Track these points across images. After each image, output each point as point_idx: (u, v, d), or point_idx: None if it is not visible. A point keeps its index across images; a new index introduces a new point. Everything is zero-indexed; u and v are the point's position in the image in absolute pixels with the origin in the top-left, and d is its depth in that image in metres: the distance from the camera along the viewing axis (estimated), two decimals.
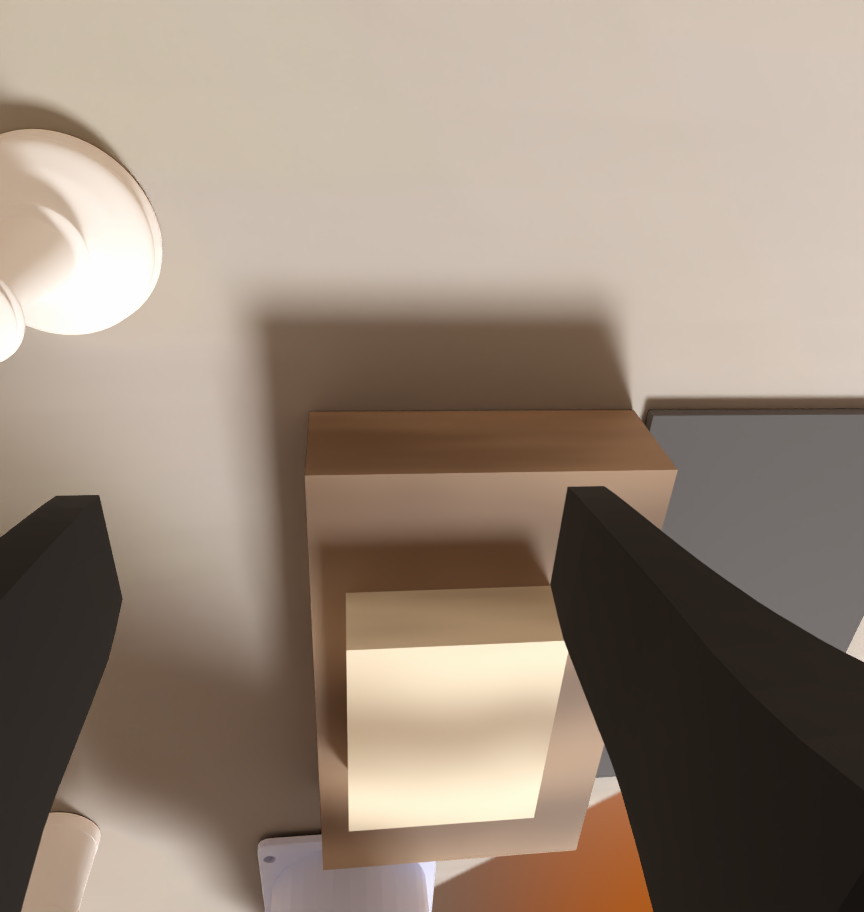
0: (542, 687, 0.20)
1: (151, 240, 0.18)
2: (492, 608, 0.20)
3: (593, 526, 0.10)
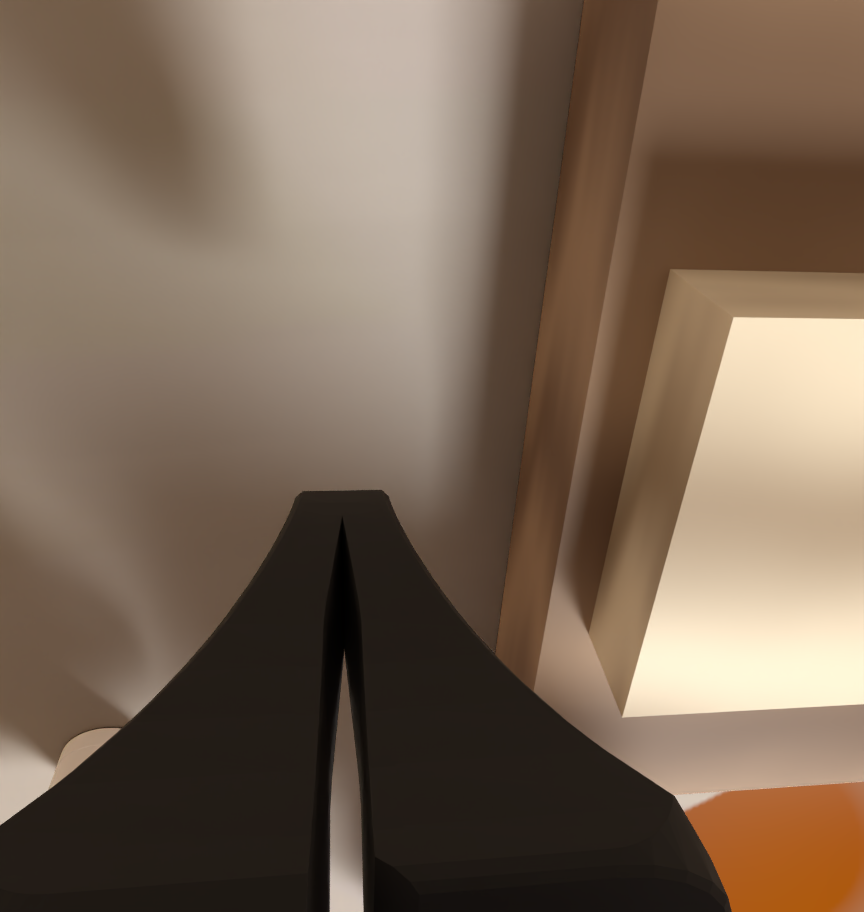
0: None
1: None
2: None
3: (344, 532, 0.10)
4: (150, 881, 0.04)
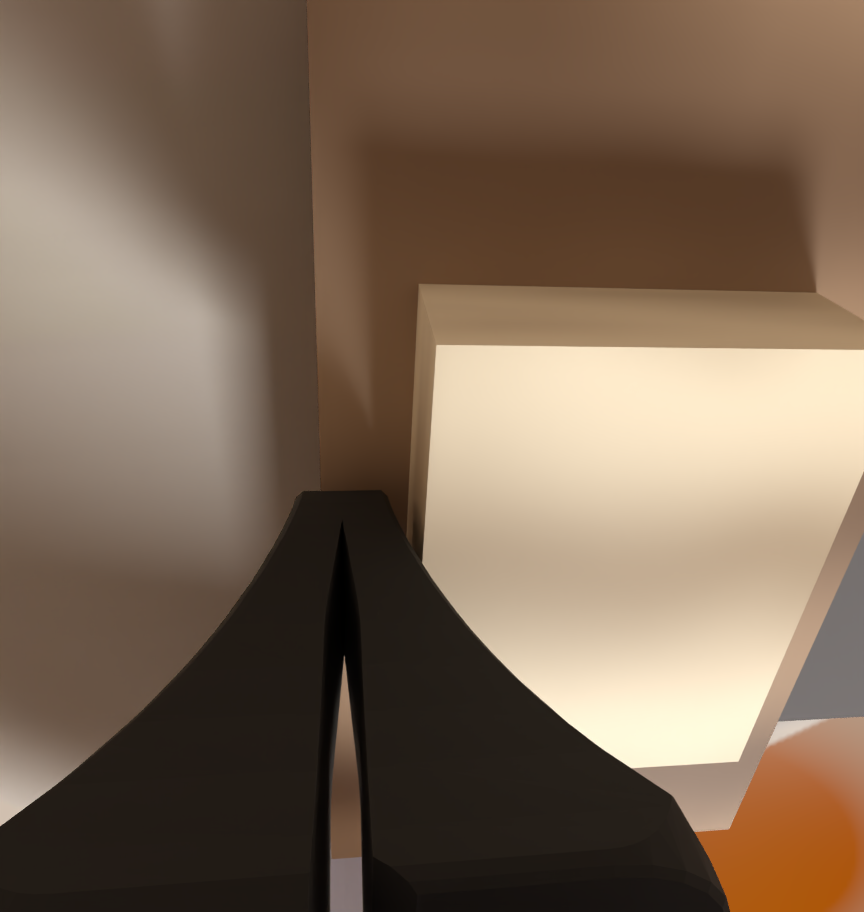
0: (826, 472, 0.10)
1: None
2: (723, 310, 0.10)
3: (343, 532, 0.10)
4: (152, 880, 0.04)
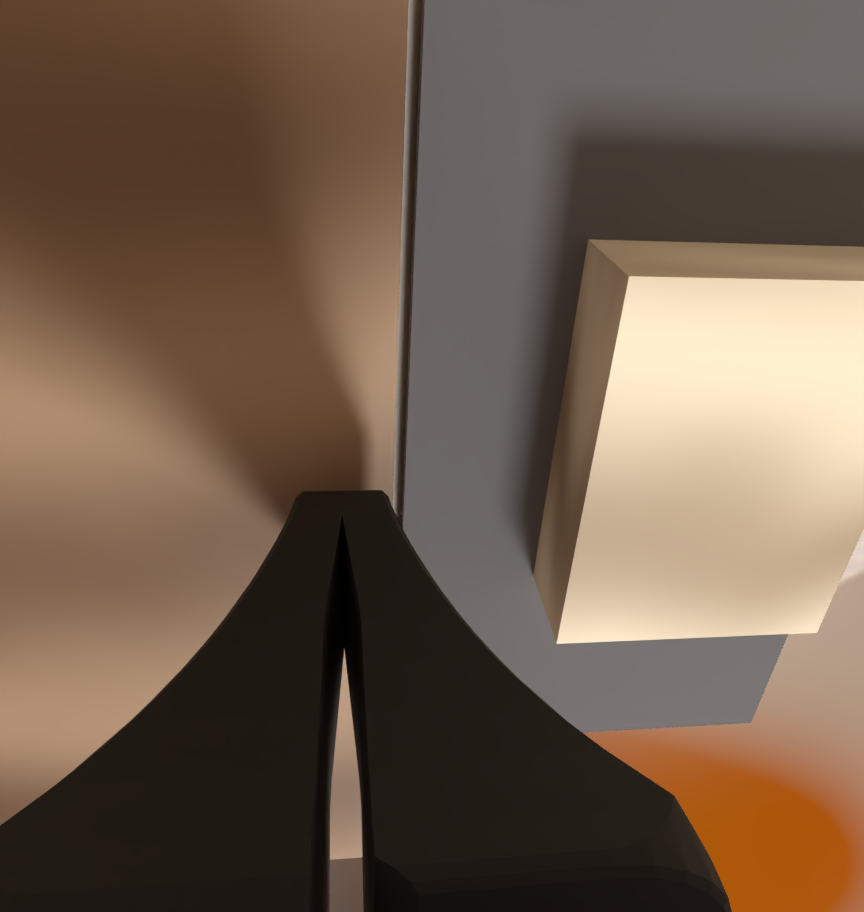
0: None
1: None
2: (718, 263, 0.12)
3: (344, 532, 0.10)
4: (150, 880, 0.04)
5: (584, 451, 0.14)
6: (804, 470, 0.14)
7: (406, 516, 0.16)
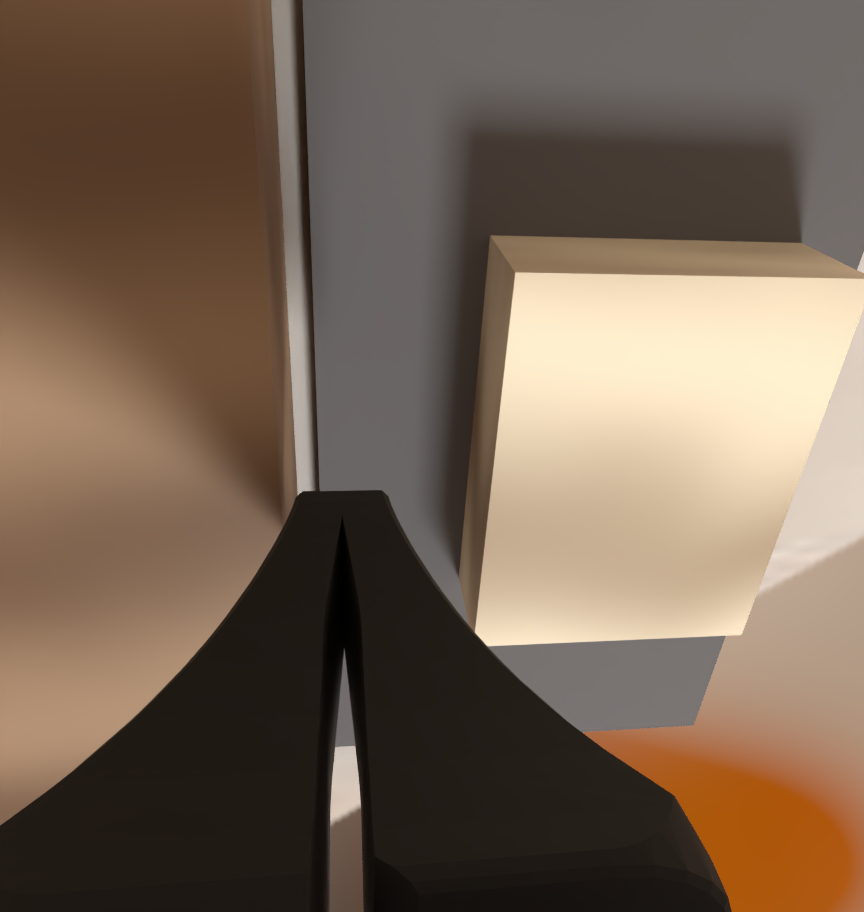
0: None
1: None
2: (616, 259, 0.12)
3: (344, 532, 0.10)
4: (150, 880, 0.04)
5: (489, 451, 0.13)
6: (714, 469, 0.13)
7: None
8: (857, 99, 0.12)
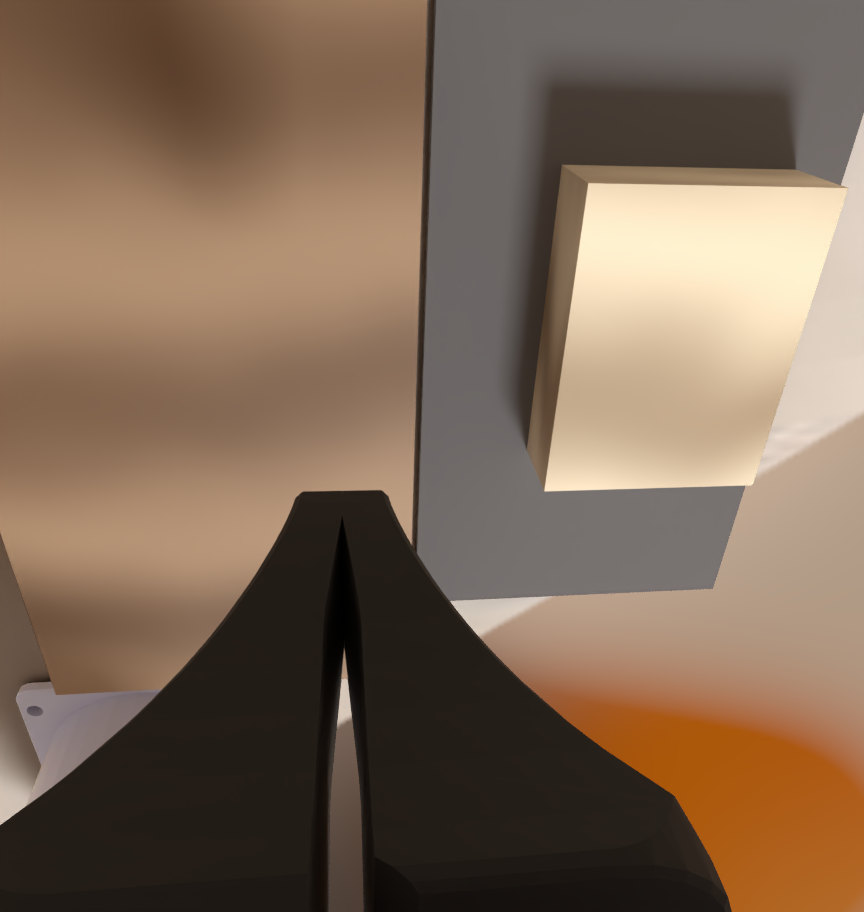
0: None
1: None
2: (658, 177, 0.16)
3: (344, 532, 0.10)
4: (149, 881, 0.04)
5: (561, 328, 0.18)
6: (731, 341, 0.18)
7: (424, 396, 0.20)
8: (835, 57, 0.17)
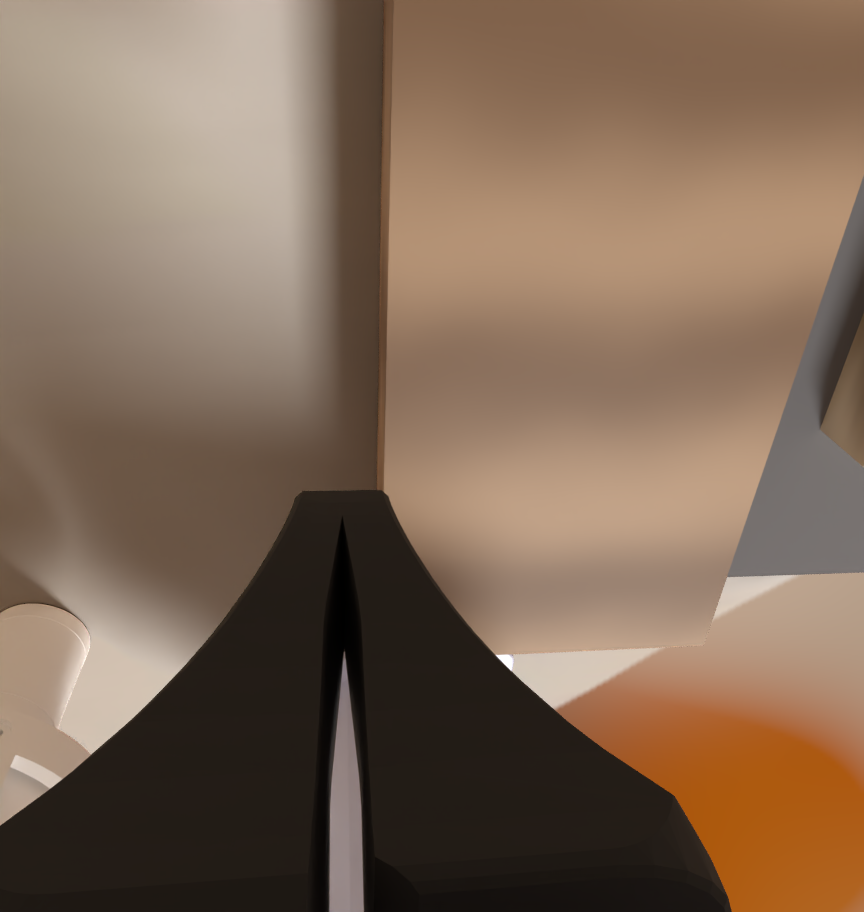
0: None
1: None
2: None
3: (344, 532, 0.10)
4: (152, 880, 0.04)
5: None
6: None
7: None
8: None
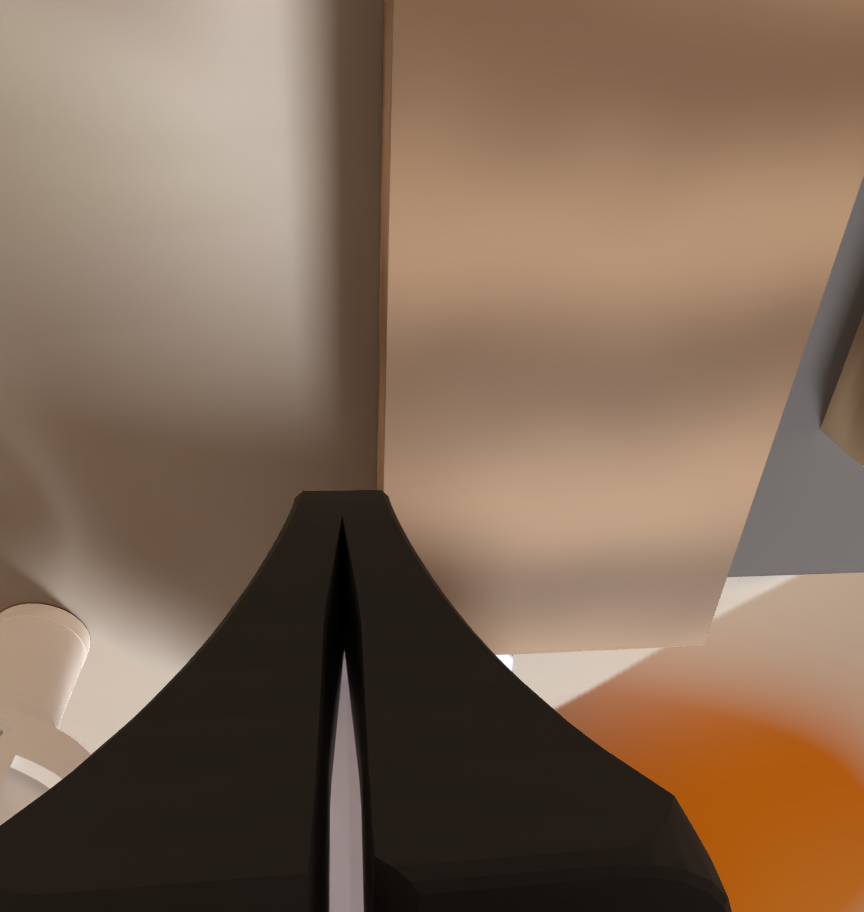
0: None
1: None
2: None
3: (344, 532, 0.10)
4: (152, 880, 0.04)
5: None
6: None
7: None
8: None
